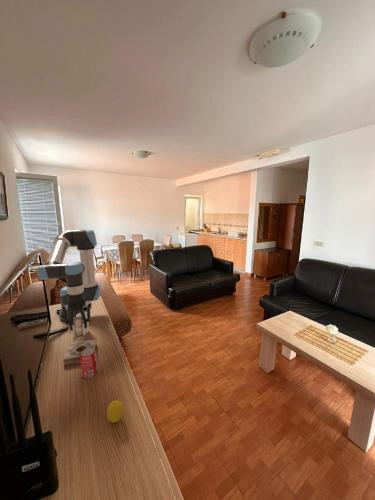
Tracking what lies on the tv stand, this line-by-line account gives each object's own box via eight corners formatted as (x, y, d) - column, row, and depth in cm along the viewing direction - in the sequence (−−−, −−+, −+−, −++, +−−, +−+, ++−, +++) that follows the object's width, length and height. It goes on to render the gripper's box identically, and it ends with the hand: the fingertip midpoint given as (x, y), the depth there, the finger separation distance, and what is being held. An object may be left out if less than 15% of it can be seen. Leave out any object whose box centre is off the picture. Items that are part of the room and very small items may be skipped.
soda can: (91, 366, 104) (89, 345, 102) (100, 372, 101) (99, 349, 99) (78, 376, 98) (76, 353, 96) (87, 382, 95) (85, 358, 93)
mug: (88, 328, 140) (87, 311, 138) (89, 332, 134) (88, 315, 132) (71, 332, 135) (70, 314, 133) (72, 337, 129) (70, 319, 127)
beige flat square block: (69, 349, 118) (69, 343, 117) (96, 344, 122) (96, 339, 122) (63, 366, 105) (63, 359, 104) (94, 360, 109) (93, 354, 109)
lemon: (105, 420, 77) (103, 402, 76) (119, 411, 81) (118, 393, 79) (111, 431, 73) (110, 412, 72) (126, 421, 77) (125, 402, 76)
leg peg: (76, 341, 113) (74, 317, 111) (85, 339, 115) (82, 315, 112) (75, 345, 110) (73, 320, 107) (83, 344, 111) (81, 319, 109)
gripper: (54, 297, 102) (59, 341, 105) (93, 293, 107) (96, 335, 111) (58, 292, 109) (63, 333, 112) (94, 288, 114) (97, 328, 118)
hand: (79, 334), depth 111 cm, fingers closed on leg peg, 4 cm apart
